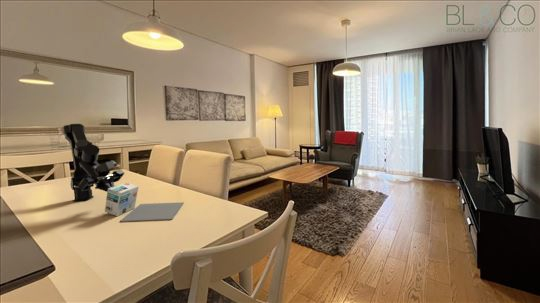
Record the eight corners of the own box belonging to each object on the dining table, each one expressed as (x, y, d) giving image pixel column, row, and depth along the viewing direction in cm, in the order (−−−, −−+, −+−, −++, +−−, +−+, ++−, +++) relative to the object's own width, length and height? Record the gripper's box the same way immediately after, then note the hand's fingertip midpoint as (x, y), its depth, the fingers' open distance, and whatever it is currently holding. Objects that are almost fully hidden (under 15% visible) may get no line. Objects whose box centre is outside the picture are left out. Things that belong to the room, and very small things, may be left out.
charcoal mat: (120, 222, 98) (119, 220, 98) (140, 204, 118) (140, 203, 118) (172, 219, 101) (172, 218, 101) (183, 203, 120) (183, 202, 120)
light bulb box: (117, 216, 104) (120, 193, 102) (103, 211, 105) (106, 188, 103) (135, 208, 114) (139, 186, 112) (123, 203, 115) (126, 181, 113)
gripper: (80, 158, 99) (105, 186, 98) (119, 152, 117) (141, 176, 116) (67, 177, 102) (91, 204, 101) (107, 168, 120) (128, 192, 119)
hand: (115, 193), depth 109 cm, fingers closed
